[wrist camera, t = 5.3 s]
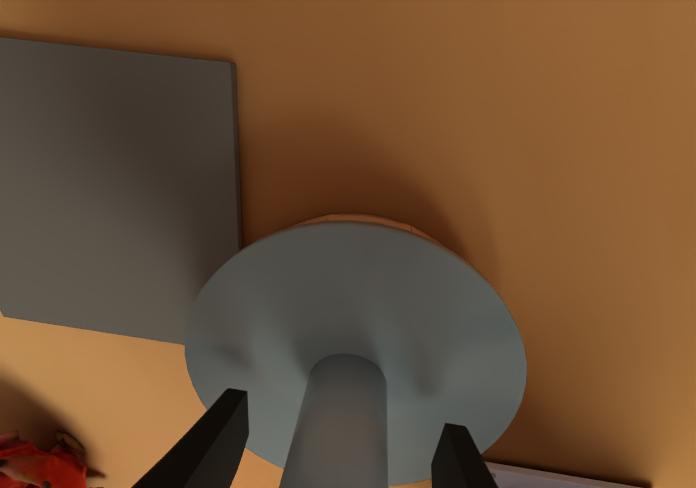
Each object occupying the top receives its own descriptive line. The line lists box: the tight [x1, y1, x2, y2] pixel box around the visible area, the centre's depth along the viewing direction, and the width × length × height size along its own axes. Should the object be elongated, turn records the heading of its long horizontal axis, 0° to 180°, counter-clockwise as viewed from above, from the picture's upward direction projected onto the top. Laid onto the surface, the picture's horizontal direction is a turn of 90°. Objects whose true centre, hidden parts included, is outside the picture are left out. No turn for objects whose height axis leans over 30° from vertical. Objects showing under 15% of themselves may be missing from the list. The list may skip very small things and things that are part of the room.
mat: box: [0, 37, 243, 345], centre depth 13 cm, size 12×12×1 cm
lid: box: [185, 220, 527, 488], centre depth 10 cm, size 12×12×5 cm
